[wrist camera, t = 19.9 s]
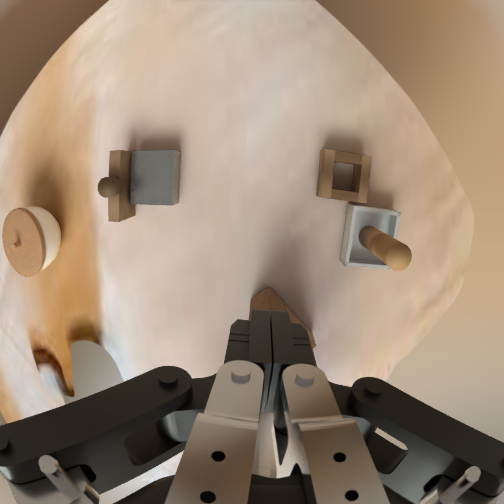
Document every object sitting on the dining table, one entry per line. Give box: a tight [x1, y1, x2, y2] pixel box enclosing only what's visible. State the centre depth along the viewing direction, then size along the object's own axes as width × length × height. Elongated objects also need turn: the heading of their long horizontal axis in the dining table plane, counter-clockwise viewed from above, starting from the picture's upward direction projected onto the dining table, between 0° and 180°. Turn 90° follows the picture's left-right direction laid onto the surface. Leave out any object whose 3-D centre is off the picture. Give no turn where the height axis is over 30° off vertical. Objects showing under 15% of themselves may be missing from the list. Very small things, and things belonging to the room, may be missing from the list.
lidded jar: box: [2, 207, 61, 277], centre depth 34 cm, size 11×11×9 cm
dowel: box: [358, 226, 412, 271], centre depth 32 cm, size 3×3×10 cm
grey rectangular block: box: [130, 150, 181, 205], centre depth 35 cm, size 7×6×3 cm
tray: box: [340, 203, 401, 269], centre depth 36 cm, size 8×7×2 cm
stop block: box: [98, 150, 135, 222], centre depth 33 cm, size 9×2×7 cm, turn 175°
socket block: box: [317, 149, 371, 203], centre depth 33 cm, size 6×6×3 cm
